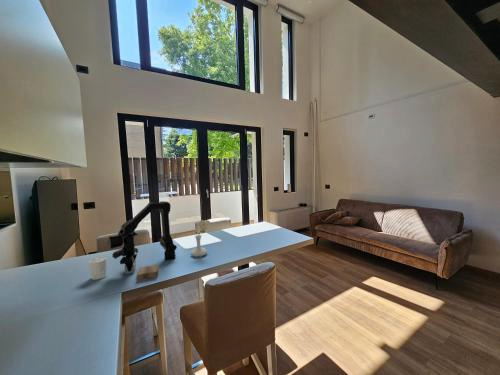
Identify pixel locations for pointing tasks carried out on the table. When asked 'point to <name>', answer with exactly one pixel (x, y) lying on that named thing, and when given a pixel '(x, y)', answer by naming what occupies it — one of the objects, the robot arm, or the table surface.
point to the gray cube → (131, 269)
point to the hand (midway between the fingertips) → (130, 269)
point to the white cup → (98, 268)
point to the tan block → (147, 272)
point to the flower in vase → (199, 250)
